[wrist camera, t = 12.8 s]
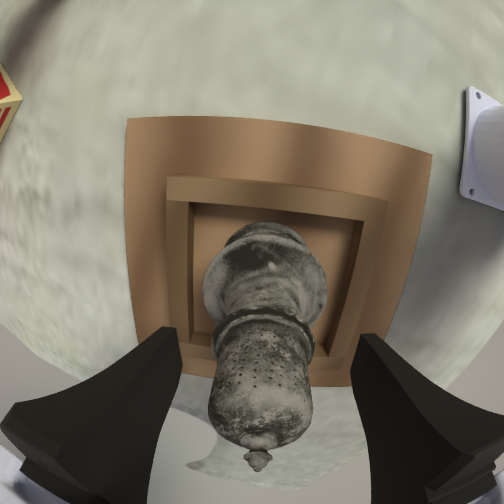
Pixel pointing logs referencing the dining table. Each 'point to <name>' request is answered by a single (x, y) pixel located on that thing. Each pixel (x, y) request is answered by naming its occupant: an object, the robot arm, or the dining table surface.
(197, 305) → the walnut holder
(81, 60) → the dining table surface
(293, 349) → the salt shaker
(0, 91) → the milk carton
